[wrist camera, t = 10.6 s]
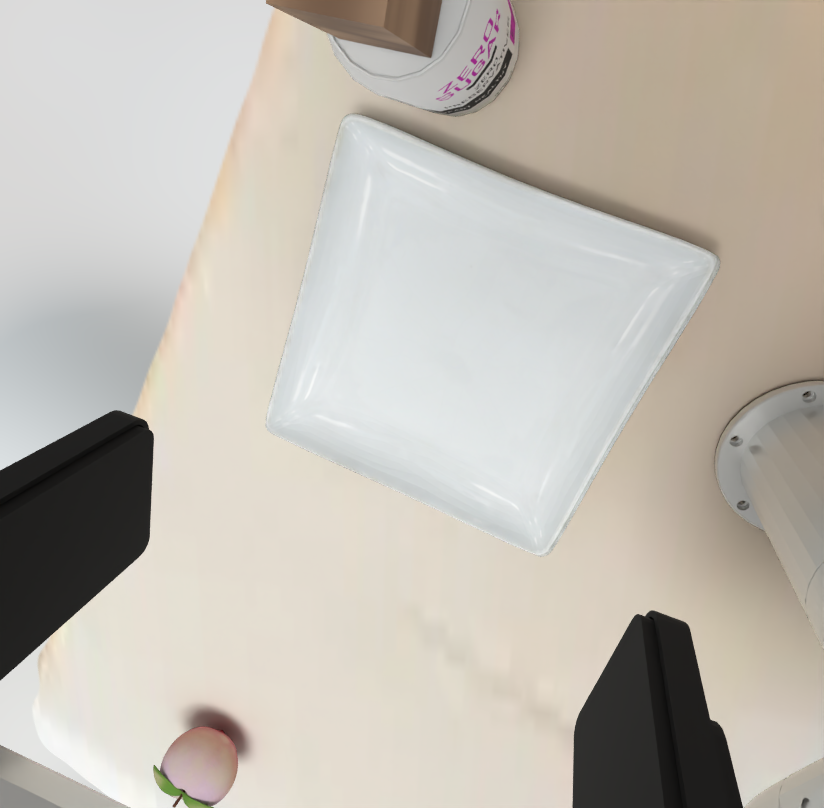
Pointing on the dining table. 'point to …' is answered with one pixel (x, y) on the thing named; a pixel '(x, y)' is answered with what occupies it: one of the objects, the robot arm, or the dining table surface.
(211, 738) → the decorative fruit
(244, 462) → the dining table surface
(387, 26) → the walnut block
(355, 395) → the square plate
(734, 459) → the robot arm
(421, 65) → the supplement can
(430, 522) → the dining table surface
